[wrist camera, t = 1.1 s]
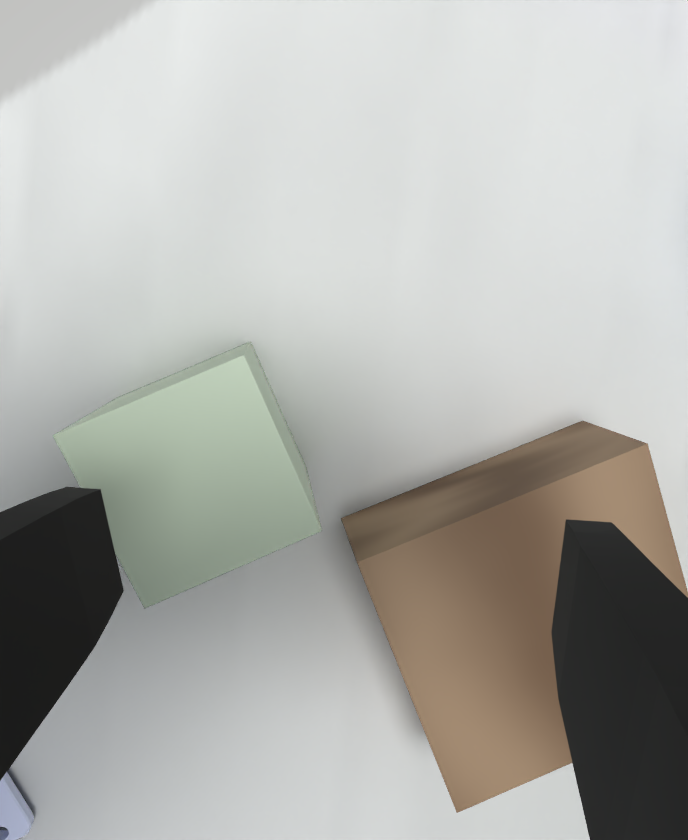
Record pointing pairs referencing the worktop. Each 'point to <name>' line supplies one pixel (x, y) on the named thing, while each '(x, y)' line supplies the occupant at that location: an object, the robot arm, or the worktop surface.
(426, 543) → the walnut base
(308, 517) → the green block
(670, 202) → the worktop surface
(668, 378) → the worktop surface
